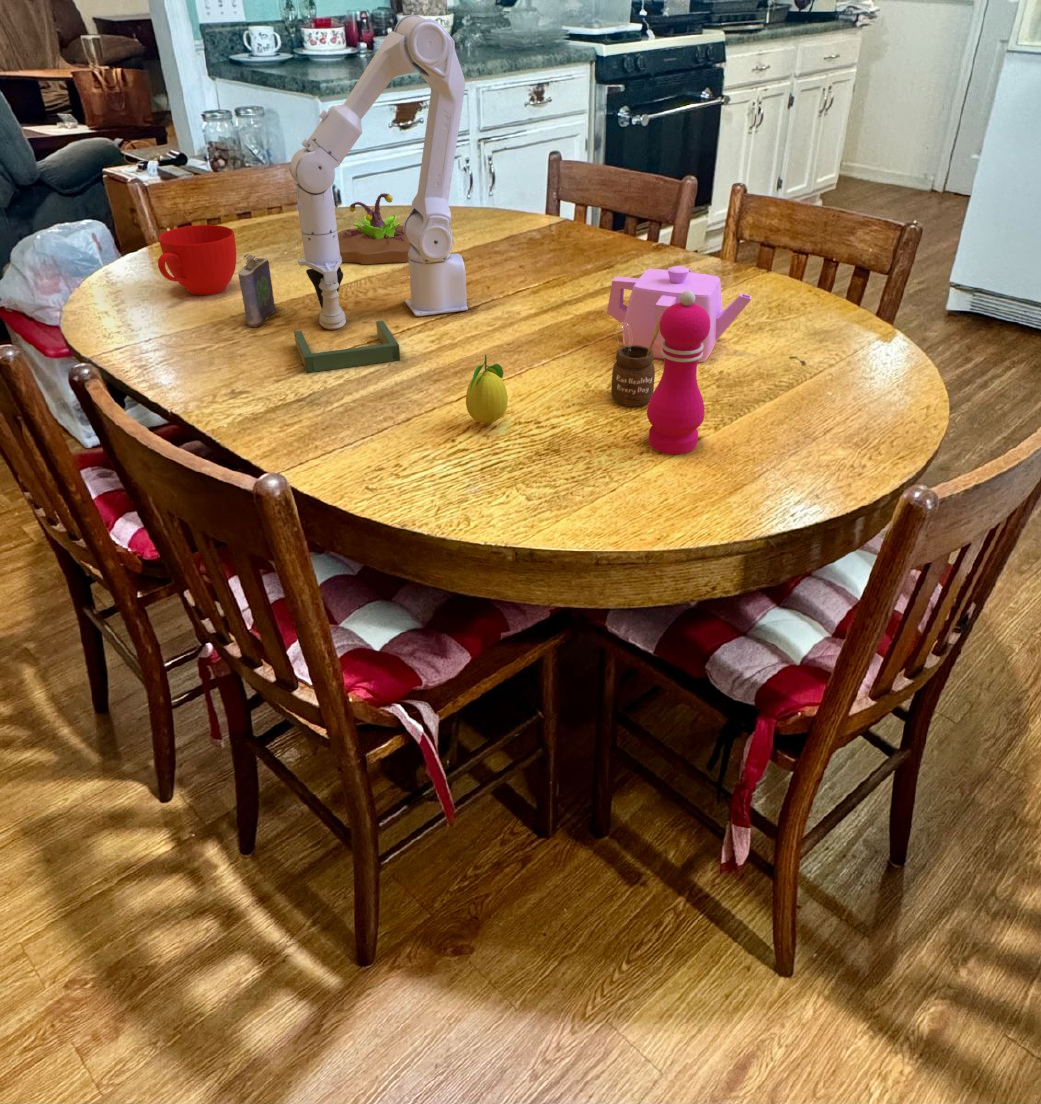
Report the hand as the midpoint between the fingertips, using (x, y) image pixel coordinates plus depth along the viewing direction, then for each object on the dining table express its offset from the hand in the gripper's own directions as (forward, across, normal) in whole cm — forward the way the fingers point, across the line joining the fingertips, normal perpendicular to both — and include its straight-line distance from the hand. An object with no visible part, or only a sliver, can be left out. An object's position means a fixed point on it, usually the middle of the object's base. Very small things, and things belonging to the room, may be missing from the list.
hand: (329, 312), depth 152 cm
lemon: (+2, +47, +13) cm, 48 cm away
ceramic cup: (+2, -22, -20) cm, 30 cm away
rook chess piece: (+1, +3, 0) cm, 3 cm away
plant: (+2, -37, +17) cm, 41 cm away
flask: (+2, -5, -11) cm, 12 cm away
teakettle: (+2, +30, +50) cm, 58 cm away
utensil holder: (+2, +46, +35) cm, 58 cm away
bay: (+1, +15, 0) cm, 15 cm away
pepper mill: (+2, +60, +34) cm, 69 cm away
